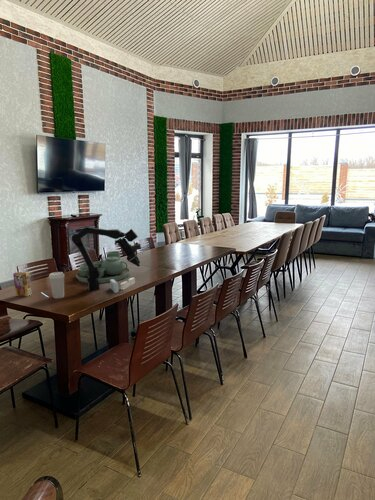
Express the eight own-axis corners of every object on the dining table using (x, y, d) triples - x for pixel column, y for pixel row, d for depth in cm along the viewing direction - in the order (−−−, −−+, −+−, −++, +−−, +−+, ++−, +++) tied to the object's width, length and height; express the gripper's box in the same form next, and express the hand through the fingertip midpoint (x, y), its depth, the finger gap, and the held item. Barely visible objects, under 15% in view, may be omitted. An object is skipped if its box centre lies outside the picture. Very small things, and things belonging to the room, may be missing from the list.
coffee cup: (68, 294, 235) (66, 271, 233) (64, 298, 226) (61, 275, 223) (53, 294, 235) (51, 272, 232) (48, 299, 226) (45, 275, 223)
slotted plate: (118, 292, 235) (118, 283, 234) (114, 292, 234) (114, 283, 233) (114, 287, 246) (113, 279, 245) (110, 288, 245) (109, 279, 244)
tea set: (82, 272, 296) (80, 252, 293) (132, 269, 299) (130, 249, 296) (71, 285, 257) (68, 262, 254) (128, 282, 260) (127, 259, 258)
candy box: (32, 294, 237) (29, 271, 235) (28, 296, 233) (25, 273, 230) (19, 294, 239) (16, 271, 236) (15, 296, 234) (12, 273, 232)
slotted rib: (123, 289, 241) (123, 283, 240) (120, 289, 241) (120, 283, 241) (135, 283, 255) (134, 277, 255) (132, 283, 256) (132, 277, 255)
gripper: (134, 241, 232) (149, 260, 235) (135, 236, 250) (149, 255, 253) (120, 251, 232) (135, 270, 235) (122, 246, 251) (136, 264, 254)
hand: (139, 264), depth 244 cm, fingers open, 9 cm apart
